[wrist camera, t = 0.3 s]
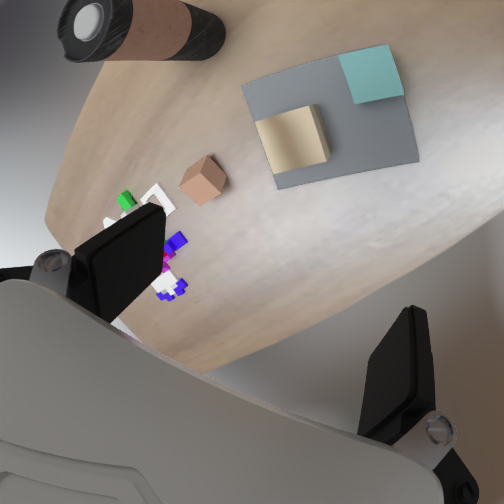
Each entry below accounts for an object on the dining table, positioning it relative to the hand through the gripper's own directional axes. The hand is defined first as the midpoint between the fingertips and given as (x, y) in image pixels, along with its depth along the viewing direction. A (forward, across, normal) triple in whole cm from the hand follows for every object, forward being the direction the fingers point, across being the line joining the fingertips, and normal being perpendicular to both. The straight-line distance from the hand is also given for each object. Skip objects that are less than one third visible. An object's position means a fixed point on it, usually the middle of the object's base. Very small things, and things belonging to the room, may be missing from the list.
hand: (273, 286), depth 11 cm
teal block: (+28, -1, -9) cm, 29 cm away
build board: (+29, +2, -3) cm, 29 cm away
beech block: (+28, +5, 0) cm, 28 cm away
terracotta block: (+26, +17, +11) cm, 33 cm away
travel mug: (+29, +21, -10) cm, 37 cm away
